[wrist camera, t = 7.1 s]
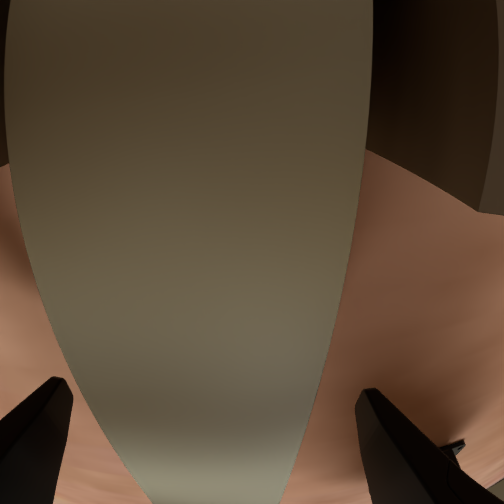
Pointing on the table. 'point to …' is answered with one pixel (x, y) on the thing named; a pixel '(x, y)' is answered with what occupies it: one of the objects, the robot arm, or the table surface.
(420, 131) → the headboard
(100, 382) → the rail
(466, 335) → the table surface
